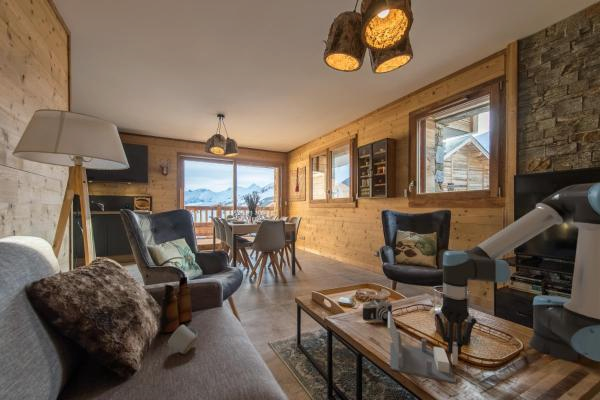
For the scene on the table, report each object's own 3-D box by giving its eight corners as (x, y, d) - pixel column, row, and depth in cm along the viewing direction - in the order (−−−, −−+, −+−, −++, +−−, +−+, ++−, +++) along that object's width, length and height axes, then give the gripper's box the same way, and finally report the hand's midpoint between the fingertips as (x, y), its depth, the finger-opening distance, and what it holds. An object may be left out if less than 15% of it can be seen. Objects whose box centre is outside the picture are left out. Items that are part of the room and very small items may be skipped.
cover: (390, 311, 104) (388, 311, 104) (390, 327, 91) (387, 327, 91) (398, 334, 103) (396, 334, 103) (399, 353, 89) (397, 354, 90)
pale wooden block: (443, 357, 95) (443, 348, 95) (449, 372, 87) (449, 362, 87) (433, 355, 96) (433, 346, 96) (437, 370, 88) (437, 360, 88)
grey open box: (445, 353, 98) (445, 338, 98) (456, 383, 82) (456, 364, 82) (390, 343, 105) (390, 329, 105) (390, 369, 89) (390, 352, 89)
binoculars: (181, 313, 132) (181, 274, 132) (195, 315, 130) (195, 275, 130) (154, 331, 114) (154, 286, 114) (170, 333, 112) (171, 288, 112)
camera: (369, 326, 120) (369, 304, 120) (360, 317, 128) (360, 297, 128) (398, 322, 124) (398, 301, 124) (387, 314, 133) (387, 295, 133)
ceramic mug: (182, 359, 97) (186, 349, 93) (165, 346, 98) (169, 335, 94) (201, 336, 106) (206, 326, 102) (186, 324, 107) (189, 314, 103)
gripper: (473, 294, 91) (472, 360, 91) (432, 289, 96) (431, 352, 96) (480, 302, 84) (479, 373, 84) (436, 296, 89) (435, 364, 89)
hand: (454, 362), depth 90 cm, fingers closed
